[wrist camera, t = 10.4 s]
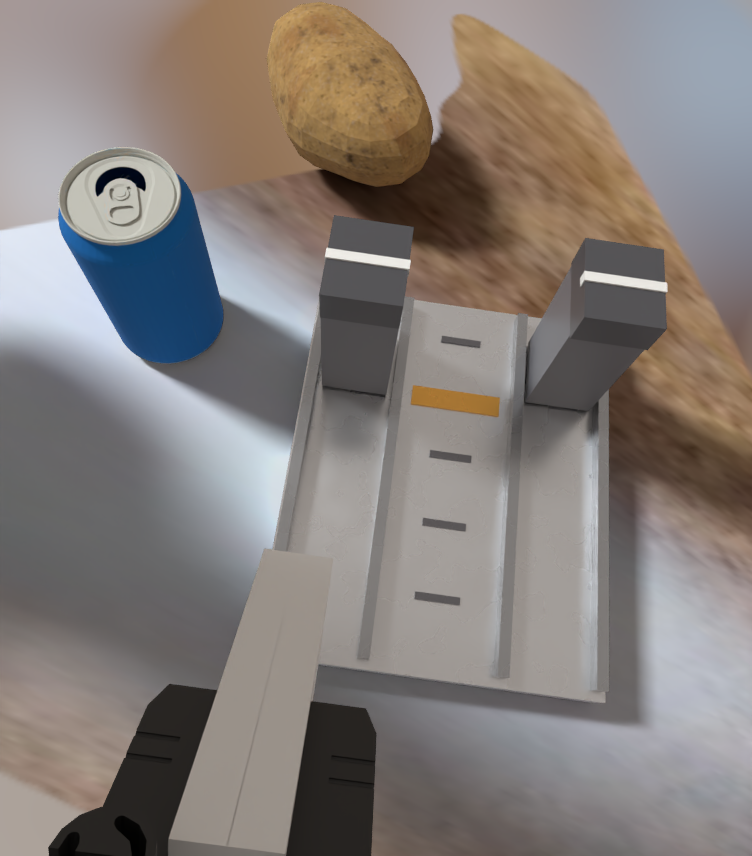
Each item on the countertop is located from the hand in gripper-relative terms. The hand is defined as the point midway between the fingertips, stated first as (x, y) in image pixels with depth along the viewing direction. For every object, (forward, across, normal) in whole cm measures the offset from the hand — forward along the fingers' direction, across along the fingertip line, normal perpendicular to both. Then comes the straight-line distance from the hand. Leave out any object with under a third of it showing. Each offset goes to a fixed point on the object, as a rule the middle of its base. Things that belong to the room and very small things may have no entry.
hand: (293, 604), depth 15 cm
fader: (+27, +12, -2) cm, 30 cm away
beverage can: (+30, -12, -3) cm, 32 cm away
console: (+24, +6, -9) cm, 26 cm away
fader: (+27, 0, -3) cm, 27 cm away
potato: (+41, -3, +8) cm, 42 cm away
